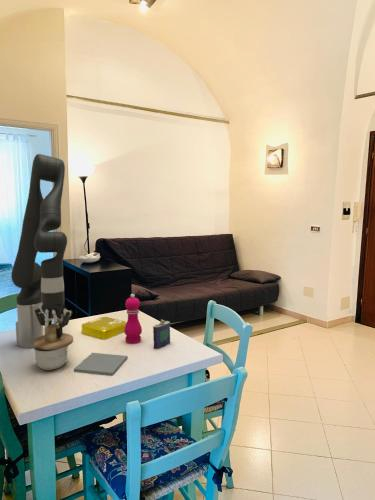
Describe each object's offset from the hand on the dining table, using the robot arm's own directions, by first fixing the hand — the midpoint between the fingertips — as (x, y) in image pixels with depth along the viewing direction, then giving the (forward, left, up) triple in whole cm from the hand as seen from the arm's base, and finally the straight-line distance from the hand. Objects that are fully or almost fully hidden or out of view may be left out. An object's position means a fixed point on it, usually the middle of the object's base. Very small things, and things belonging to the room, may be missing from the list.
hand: (54, 337), depth 131 cm
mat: (+16, +3, -10) cm, 19 cm away
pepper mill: (+19, +27, -10) cm, 35 cm away
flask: (+32, +25, -10) cm, 42 cm away
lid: (0, 0, -2) cm, 2 cm away
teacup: (0, 0, -10) cm, 10 cm away
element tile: (+3, +35, -11) cm, 37 cm away
